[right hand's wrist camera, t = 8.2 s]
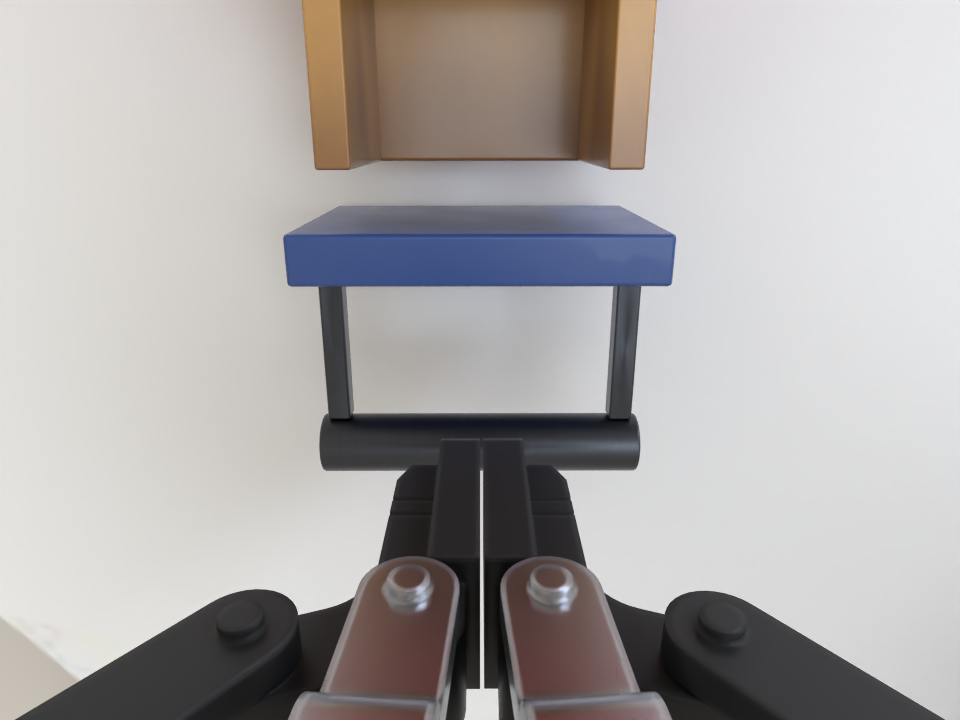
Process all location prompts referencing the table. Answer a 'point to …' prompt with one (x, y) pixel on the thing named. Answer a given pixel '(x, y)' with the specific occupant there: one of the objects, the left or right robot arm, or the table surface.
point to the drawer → (479, 229)
